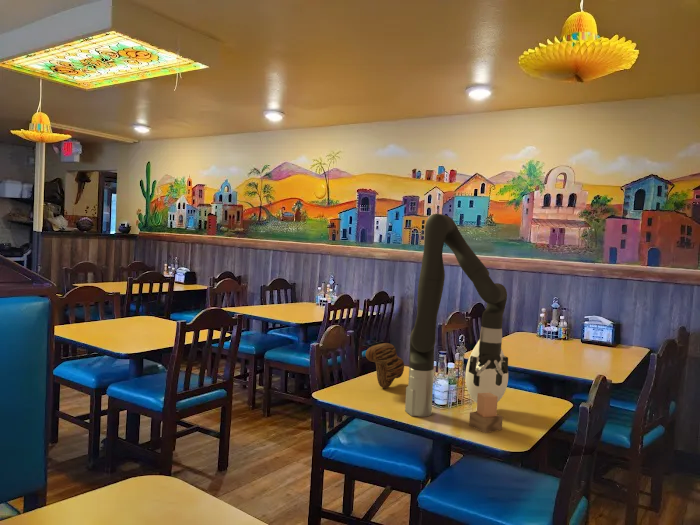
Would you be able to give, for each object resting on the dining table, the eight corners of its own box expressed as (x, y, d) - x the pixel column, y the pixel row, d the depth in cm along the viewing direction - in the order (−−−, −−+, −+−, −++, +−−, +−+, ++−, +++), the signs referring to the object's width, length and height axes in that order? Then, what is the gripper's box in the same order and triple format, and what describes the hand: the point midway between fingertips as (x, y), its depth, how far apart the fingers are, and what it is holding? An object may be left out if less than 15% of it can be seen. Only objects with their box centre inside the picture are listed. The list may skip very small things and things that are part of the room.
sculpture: (391, 381, 252) (393, 337, 251) (406, 384, 247) (408, 340, 246) (359, 393, 230) (361, 346, 229) (375, 397, 226) (377, 349, 225)
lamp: (456, 410, 213) (461, 320, 211) (475, 401, 225) (480, 317, 223) (494, 420, 203) (499, 326, 201) (512, 411, 215) (517, 322, 213)
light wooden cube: (476, 412, 196) (477, 393, 196) (488, 411, 198) (490, 392, 197) (483, 417, 191) (484, 397, 191) (496, 416, 193) (497, 396, 192)
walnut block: (485, 433, 189) (486, 419, 189) (469, 426, 196) (469, 412, 196) (501, 430, 193) (502, 416, 193) (485, 423, 200) (486, 409, 200)
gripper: (502, 338, 198) (499, 382, 199) (467, 337, 194) (464, 383, 195) (514, 342, 191) (510, 388, 192) (478, 342, 187) (474, 389, 188)
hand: (487, 385), depth 194 cm, fingers open, 8 cm apart
